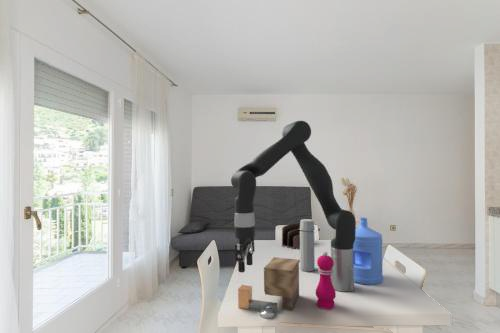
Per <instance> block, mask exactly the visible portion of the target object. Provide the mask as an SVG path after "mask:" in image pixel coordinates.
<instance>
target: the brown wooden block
mask: <svg viewBox="0 0 500 333" xmlns="http://www.w3.org/2000/svg"><path fill="white" fill-rule="evenodd" d="M263 275H264V276H263V290H264V291H263V292H264V295H267V296H275V297H282V298H281V299H282V302H281V304H282V308H281V309H282V310H285V311H293V309H294V307H295V305H296V303H297V301H298V298H299V296H300V259H298V258H285V257H273V258H271V260H270V261H269V262H268V263H267V264H266V265H265V266H264V267H263Z"/></svg>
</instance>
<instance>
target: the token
mask: <svg viewBox="0 0 500 333" xmlns="http://www.w3.org/2000/svg"><path fill="white" fill-rule="evenodd" d="M259 312H260V314H259V316H260V317H261V318H262V319H265V320H266V319H269V320H270V319H273V318H274V317H275V316H276V315H275V313H276V312H275V311H274V310H273V309H269V308H265V309H262V310H261V311H260V310H259Z"/></svg>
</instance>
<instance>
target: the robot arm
mask: <svg viewBox="0 0 500 333" xmlns="http://www.w3.org/2000/svg"><path fill="white" fill-rule="evenodd" d="M281 135H282V137H281V138H280V139H279V140H277V141H276V142H274V143H273V144H272V145H270V146H268V147H267V148H266V149H264V150H262V152H260V153H259V154H258V155H256V157H254V158H253V159H252V160H251V161H250V162H248V163H246V164H244V165H243V166H241V167H240V168H239V169H237V170H236V171H235V172H234V173H232V176H231V178H230V183H231V185H232V186H233V188H235V189H237V190H238V196H237V197H235V198H234V217H233V218H234V220H233V221H234V238H236V239H237V240H238V243H236V244H235V245H234V251H235V252H234V253H235V254H234V257H235V258H234V260H235V262H237V264H238V268H237V270H238V273H244V272H246V265H247V266H252V265H254V264H253V255H254V252H255V249H256V248H255V237H256V227H255V226H256V225H255V224H256V223H255V212H254V211H255V210H254V208H255V207H254V205H255V204H254V200H255V194H256V190H257V189H256V188H257V178H258V177H262V176H263V175H265V174H266V173H267V172H269V171H270V170H271V169H272V168H273V167H274V166H275V165H277V163H278V162H279V161H280V160H282V159H283V158H284V157H285V156H286V155H287V154H289V153H290V152H291V153H292V155H293V157H294V158H295V160H296V162H297V163H298V165H299V167H300V169H301V171H302V173H303V174H304V176H305V178H306V181H307V182H308V184H309V187H310V188H311V190H312V191H313V193H314V196H315V198H316V199H317V201H318V203H319V204H320V206H321V209H322V212H323V213H324V218H325V219H326V221H327V223H328V226H330V227H331V228H332V229H333V230H335V236H334V238H332V239H331V240H330V257H331V258H332V259H333V262H334V265H333V267H332V268H331V269H332V274H331V282H332V285H333V287H334V289H335V291H338V292H355V282H354V261H353V244H354V242H355V234H356V228H357V224H356V222H357V221H356V217H355V214H354V213H353V212H351V211H350V210H347V209H342V208H341V206H340V205H339V203H338V201H337V199H336V197H335V195H334V188H333V187H334V186H333V180H332V177H331V175H330V174H329V171H328V170H327V168H326V166H325V164H323V163H322V162H321V160H319V159H318V158H317V157H316V156H315V155H313V154H312V152H310V150H309V148H308V147H307V145H306V144H305V142H307V141H308V140H310V138H311V135H312V129H311V126H310V124H309V123H308V122H306V121H305V120H297V121H296V120H295V121H294V122H291V123H289V124H287V125H285V126H284V127H283V129H282V134H281ZM245 260H246V263H245ZM245 264H246V265H245Z"/></svg>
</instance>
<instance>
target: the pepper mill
mask: <svg viewBox="0 0 500 333" xmlns="http://www.w3.org/2000/svg"><path fill="white" fill-rule="evenodd" d="M328 254H329V253H328V251H323V252H322V255H319V257H317V260H316V264H317V266H318V274H319V281H318V284H317V285H316V289H315V296H316V297H317V299H316V306H317V307H319V309H324V310H332V309H334V308H335V299H336V295H337V294H336V293H337V292H336V290H335V289H334V287H333V285H332V282H331V274H332V269H331V268H332V267H333V265H334V262H333V259H332V258H331V255H330V256H329V255H328Z"/></svg>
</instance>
